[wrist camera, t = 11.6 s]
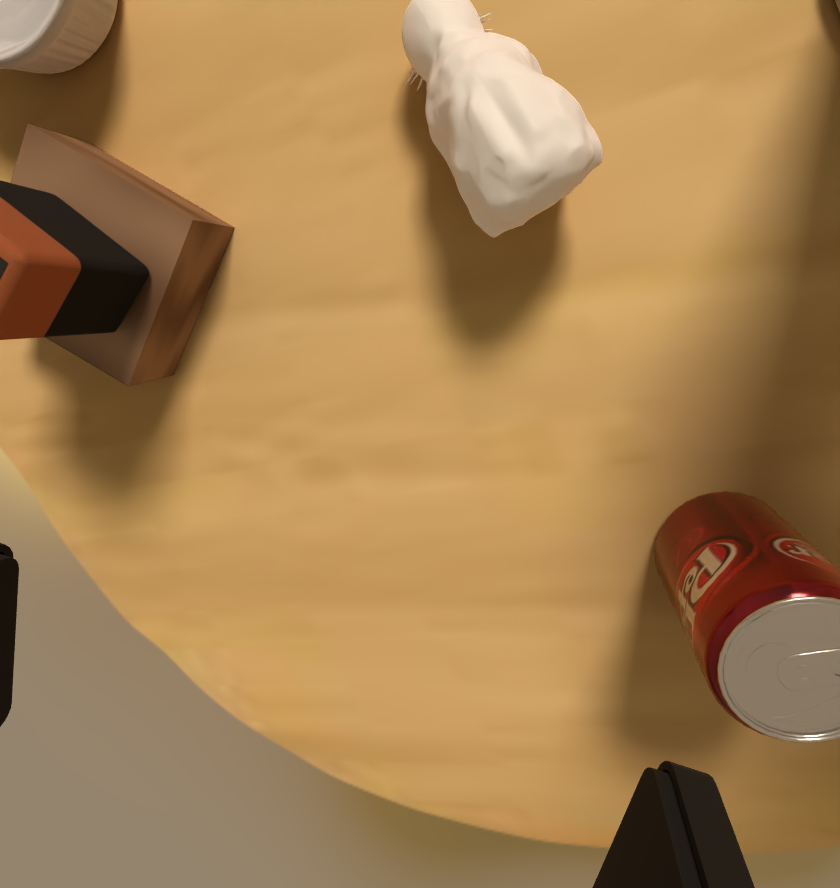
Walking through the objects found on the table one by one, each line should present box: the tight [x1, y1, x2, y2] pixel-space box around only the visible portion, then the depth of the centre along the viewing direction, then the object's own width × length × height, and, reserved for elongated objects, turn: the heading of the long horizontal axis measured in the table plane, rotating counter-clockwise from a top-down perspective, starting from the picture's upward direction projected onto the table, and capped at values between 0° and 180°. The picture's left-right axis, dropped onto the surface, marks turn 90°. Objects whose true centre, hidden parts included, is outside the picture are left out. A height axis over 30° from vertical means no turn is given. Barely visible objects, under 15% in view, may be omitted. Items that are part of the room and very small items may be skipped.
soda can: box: [655, 492, 840, 743], centre depth 30 cm, size 7×7×12 cm
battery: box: [0, 181, 149, 340], centre depth 28 cm, size 4×7×10 cm, turn 53°
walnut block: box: [11, 123, 234, 386], centre depth 35 cm, size 10×10×5 cm
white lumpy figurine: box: [402, 0, 603, 238], centre depth 28 cm, size 6×8×12 cm
